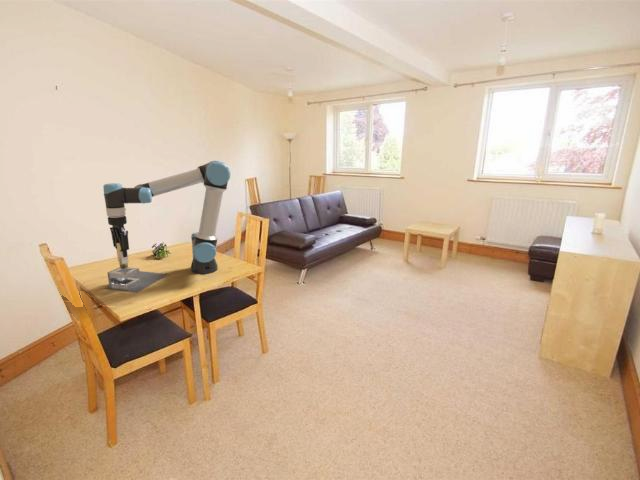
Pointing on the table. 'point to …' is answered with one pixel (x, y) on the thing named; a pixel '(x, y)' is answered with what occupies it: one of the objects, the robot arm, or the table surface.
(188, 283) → the table surface
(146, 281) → the mat
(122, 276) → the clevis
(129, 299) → the table surface
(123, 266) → the pin
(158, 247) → the passion flower
